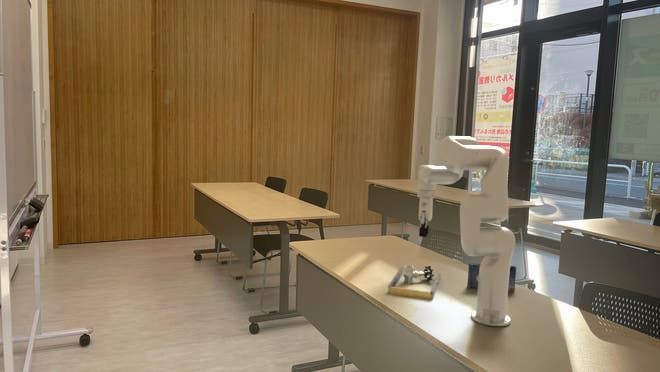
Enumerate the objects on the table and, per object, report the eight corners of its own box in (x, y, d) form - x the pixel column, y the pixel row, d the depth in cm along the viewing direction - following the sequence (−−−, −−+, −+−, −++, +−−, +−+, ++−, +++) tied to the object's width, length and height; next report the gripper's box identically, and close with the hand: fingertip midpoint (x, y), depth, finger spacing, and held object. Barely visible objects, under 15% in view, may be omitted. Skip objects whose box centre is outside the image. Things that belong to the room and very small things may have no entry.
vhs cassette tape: (513, 289, 200) (515, 265, 199) (515, 291, 197) (517, 267, 196) (466, 286, 202) (468, 262, 201) (468, 288, 199) (469, 264, 198)
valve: (407, 285, 200) (433, 283, 204) (408, 269, 200) (434, 267, 204) (399, 280, 207) (425, 278, 211) (400, 265, 206) (426, 263, 210)
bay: (432, 299, 184) (433, 291, 184) (387, 293, 189) (388, 285, 189) (440, 278, 210) (440, 271, 210) (400, 273, 216) (400, 267, 215)
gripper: (432, 196, 203) (430, 240, 206) (437, 192, 220) (434, 232, 222) (414, 195, 206) (412, 238, 208) (420, 191, 222) (417, 230, 224)
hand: (423, 234), depth 215 cm, fingers open, 4 cm apart
